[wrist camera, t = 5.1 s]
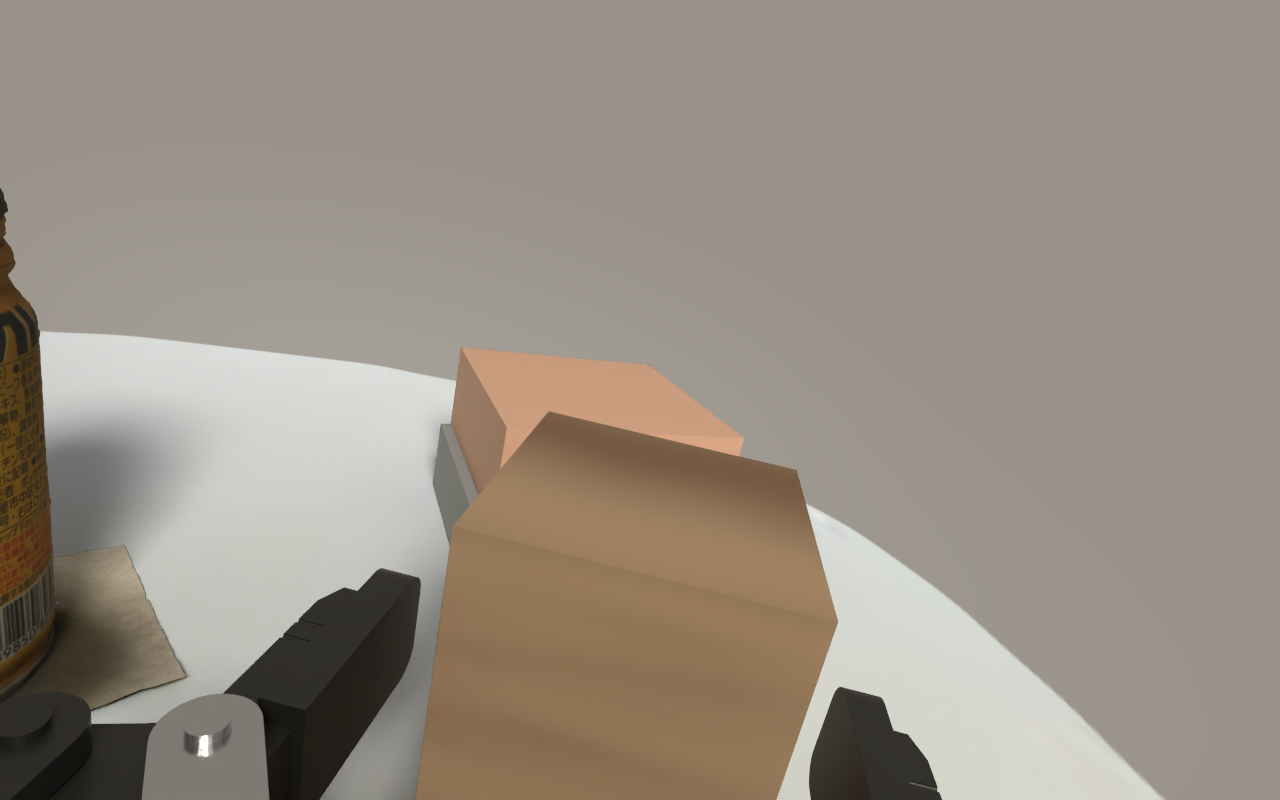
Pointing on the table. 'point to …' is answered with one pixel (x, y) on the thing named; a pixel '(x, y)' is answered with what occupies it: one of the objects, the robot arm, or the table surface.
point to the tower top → (568, 404)
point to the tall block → (625, 625)
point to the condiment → (33, 580)
